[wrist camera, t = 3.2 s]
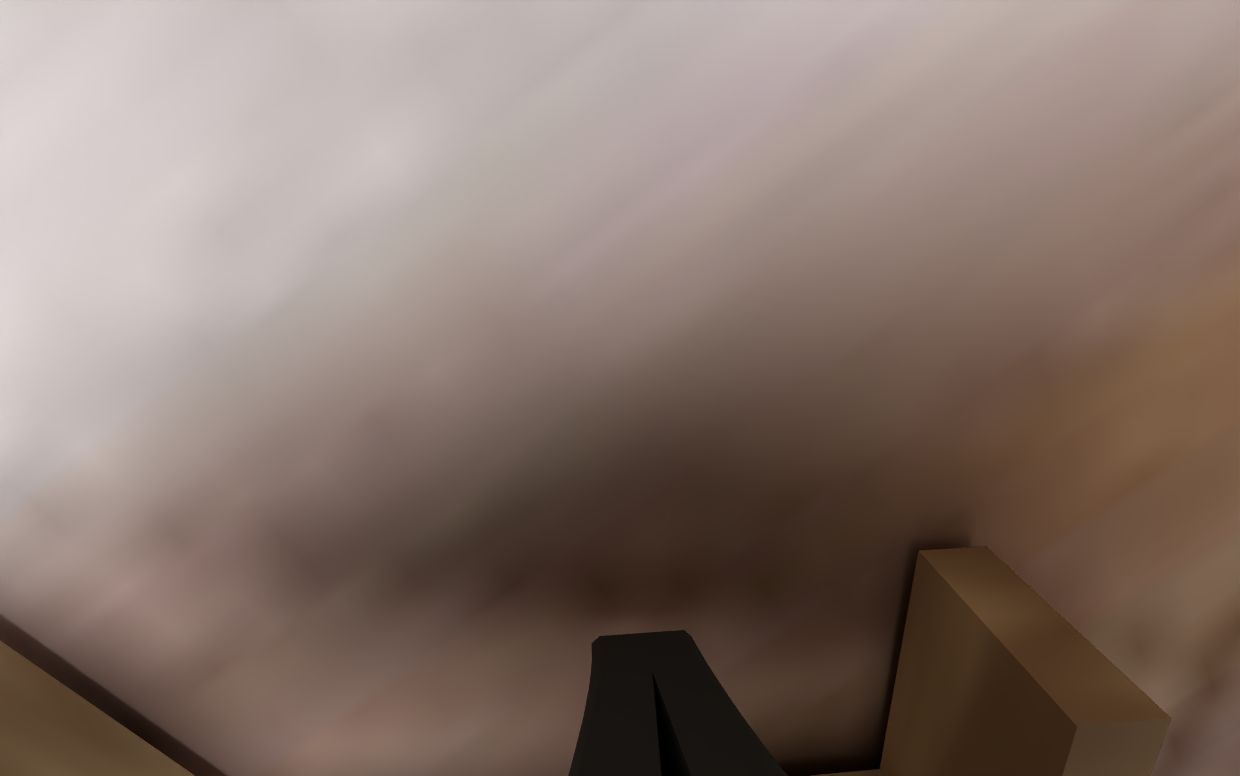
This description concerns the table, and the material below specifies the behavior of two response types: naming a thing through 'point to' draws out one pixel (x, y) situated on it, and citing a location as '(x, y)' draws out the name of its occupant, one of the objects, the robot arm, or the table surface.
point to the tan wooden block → (65, 730)
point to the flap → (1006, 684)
